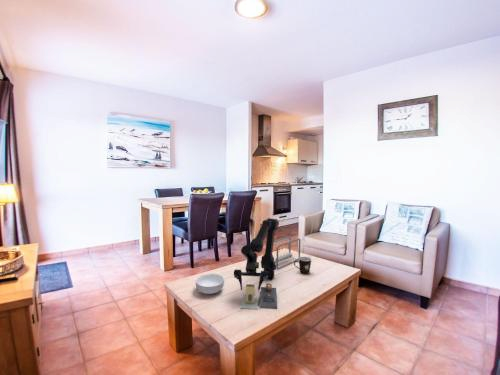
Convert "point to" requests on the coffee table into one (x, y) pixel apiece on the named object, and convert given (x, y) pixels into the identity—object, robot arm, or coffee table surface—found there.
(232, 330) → the coffee table surface
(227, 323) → the coffee table surface
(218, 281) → the cereal bowl
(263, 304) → the plane body
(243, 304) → the bench mat
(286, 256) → the newton's cradle
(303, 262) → the coffee mug
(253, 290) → the lever cap
